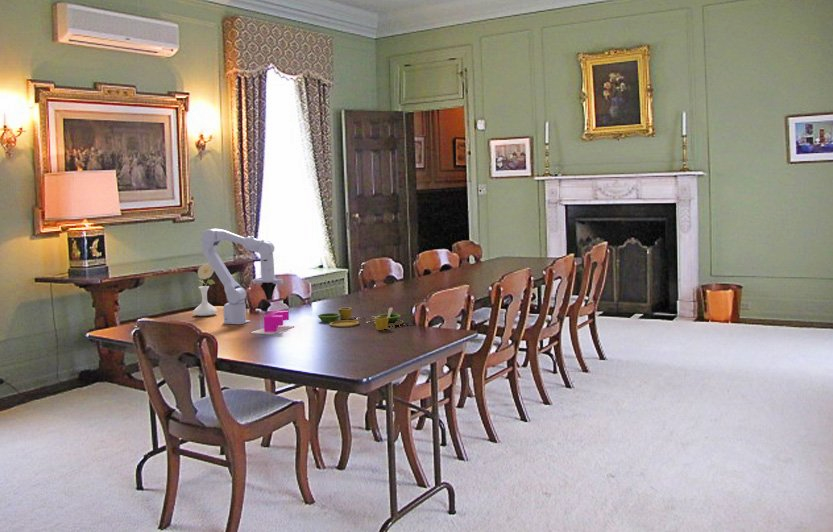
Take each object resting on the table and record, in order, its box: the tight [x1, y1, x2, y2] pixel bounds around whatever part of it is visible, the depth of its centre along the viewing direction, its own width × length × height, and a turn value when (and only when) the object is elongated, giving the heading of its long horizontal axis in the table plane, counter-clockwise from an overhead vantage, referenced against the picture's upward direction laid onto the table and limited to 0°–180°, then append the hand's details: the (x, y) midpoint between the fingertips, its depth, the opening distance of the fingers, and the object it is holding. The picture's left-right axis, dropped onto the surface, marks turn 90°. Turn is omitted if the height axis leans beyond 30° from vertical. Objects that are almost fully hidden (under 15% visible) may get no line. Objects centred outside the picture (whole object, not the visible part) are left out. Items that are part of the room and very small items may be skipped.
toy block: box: [263, 310, 290, 332], centre depth 345 cm, size 15×6×8 cm
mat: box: [250, 324, 295, 336], centre depth 344 cm, size 10×18×1 cm, turn 157°
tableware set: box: [317, 307, 404, 331], centre depth 355 cm, size 41×28×6 cm
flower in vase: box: [192, 263, 218, 317], centre depth 385 cm, size 13×11×25 cm
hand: (269, 299), depth 361 cm, fingers closed
